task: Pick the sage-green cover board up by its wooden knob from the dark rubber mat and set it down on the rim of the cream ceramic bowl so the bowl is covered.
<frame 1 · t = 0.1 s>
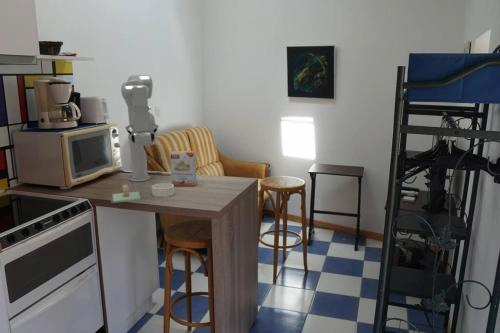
hand: (143, 141, 221), 31 cm above the worktop, fingers open, 9 cm apart
cracker box: (184, 185, 253), on the worktop
cover board: (126, 197, 227), resting on mat
mat: (126, 198, 227), on the worktop
bowl: (163, 194, 234), on the worktop
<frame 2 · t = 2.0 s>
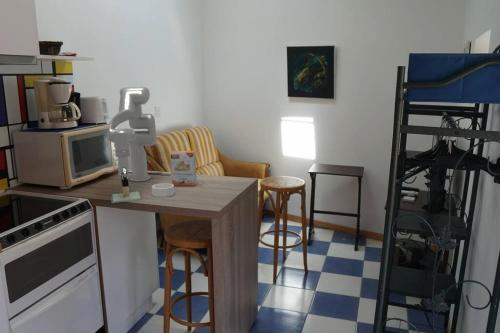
hand: (125, 184, 225), 8 cm above the worktop, fingers open, 9 cm apart
nothing on the worktop moved.
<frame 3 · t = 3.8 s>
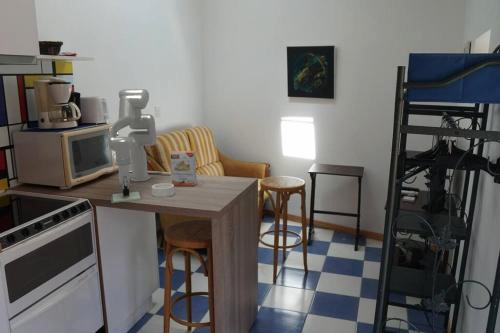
hand: (126, 194, 227), 2 cm above the worktop, fingers closed on cover board, 3 cm apart
cover board: (126, 197, 227), resting on mat, touching gripper
everything else where it was.
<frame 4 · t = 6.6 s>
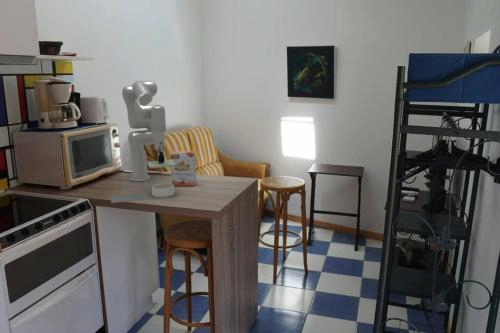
hand: (161, 161, 230), 19 cm above the worktop, fingers closed on cover board, 3 cm apart
cover board: (161, 164, 230), point 17 cm above the worktop, touching gripper
everything else where it was.
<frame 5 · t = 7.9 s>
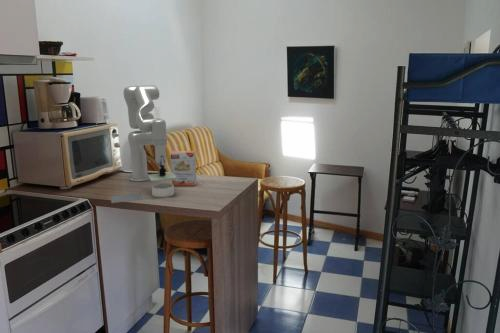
hand: (162, 174, 231), 12 cm above the worktop, fingers closed on cover board, 3 cm apart
cover board: (162, 177, 231), point 10 cm above the worktop, touching gripper
everything else where it was.
when the fingers open (8 cm above the worktop, at t = 9.3 s): cover board drops 1 cm, resting on bowl.
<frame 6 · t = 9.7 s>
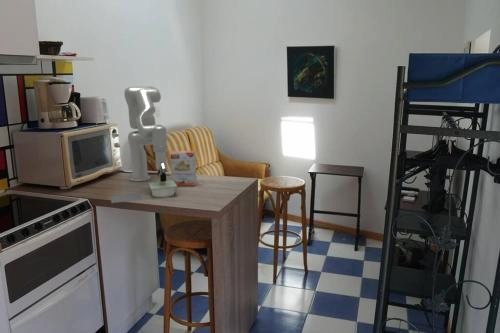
hand: (162, 179, 232), 9 cm above the worktop, fingers open, 8 cm apart
cover board: (162, 185, 233), point 5 cm above the worktop, touching bowl
everything else where it was.
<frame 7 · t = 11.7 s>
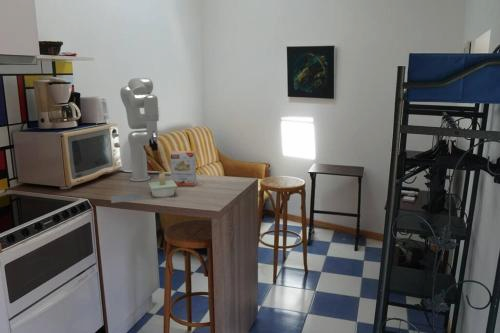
hand: (153, 148, 232), 26 cm above the worktop, fingers open, 9 cm apart
nothing on the worktop moved.
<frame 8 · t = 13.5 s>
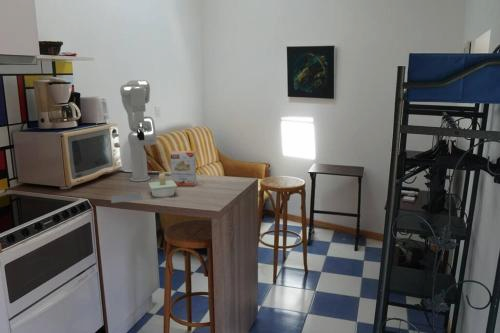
hand: (140, 139, 237), 30 cm above the worktop, fingers open, 9 cm apart
nothing on the worktop moved.
at the end: cover board 0.1 cm off-centre on the bowl, point 5.0 cm above the bowl's base; cover board tilted 0°; the gripper is holding nothing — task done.
